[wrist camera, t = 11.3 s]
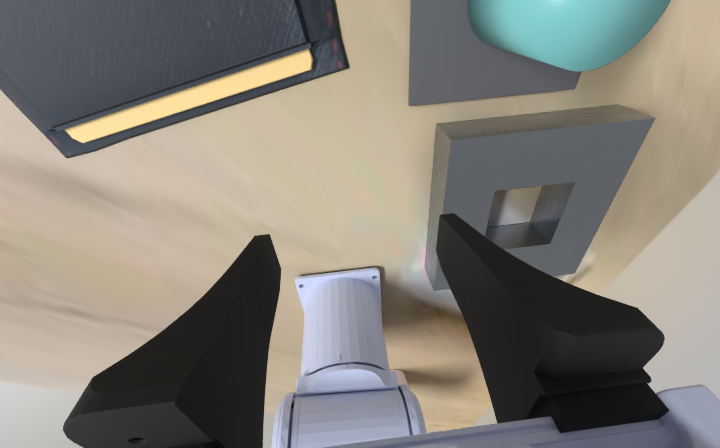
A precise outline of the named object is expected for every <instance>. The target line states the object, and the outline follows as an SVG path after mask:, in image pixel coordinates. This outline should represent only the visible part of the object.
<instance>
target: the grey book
mask: <svg viewBox="0 0 720 448" xmlns="http://www.w3.org/2000/svg"><path fill="white" fill-rule="evenodd" d="M347 68H349V67H348V63H347V59H346V56H345V52H344V48H343V44H342V41H341V36H340V30H339V25H338V19H337V13H336V8H335V2H334V0H0V89H1V90H2V92H3V93H4V94H5V95H6V96H7V97H8V98H9V99H10V100H11V101H12V102H13V103H14V104H15V105H16V106H17V107H18V109H19V110H20V111H21V112H22V113H23V114H24V115H25V116H26V117H27V118H28V119H29V120H30V121H31V122H32V123H33V124H34V125H35V126H36V127H37V128H38V129H39V130H40V131H41V132H42V133H43V134H44V135H45V136H46V137H47V138H48V139H49V140H50V141H51V142H52V144H53V145H54V146H55V147H56V148H57V149H58V150H59V151H60V152H61V153H62V154H63V155H64V156H65V157H66V158H70V157H74V156H78V155H82V154H86V153H90V152H93V151H97V150H99V149H102V148H105V147H107V146H110V145H113V144H115V143H118V142H121V141H123V140H126V139H129V138H132V137H135V136H138V135H141V134H144V133H148V132H151V131H154V130H157V129H160V128H163V127H166V126H169V125H172V124H176V123H179V122H182V121H185V120H188V119H191V118H194V117H197V116H200V115H204V114H207V113H210V112H213V111H216V110H219V109H222V108H225V107H228V106H232V105H235V104H238V103H241V102H244V101H247V100H250V99H253V98H256V97H260V96H263V95H266V94H269V93H272V92H275V91H278V90H281V89H284V88H288V87H291V86H294V85H297V84H300V83H303V82H306V81H309V80H313V79H316V78H319V77H322V76H325V75H328V74H331V73H334V72H338V71H341V70H344V69H347Z"/></svg>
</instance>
